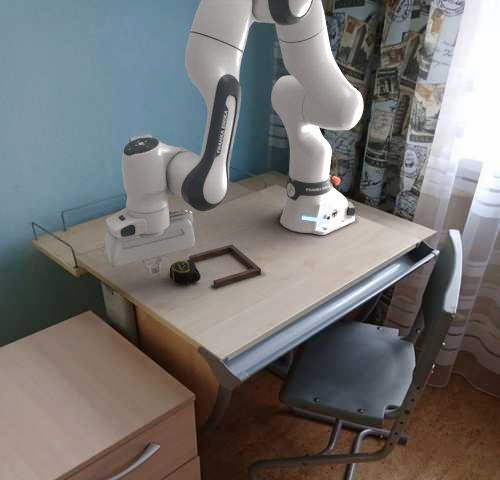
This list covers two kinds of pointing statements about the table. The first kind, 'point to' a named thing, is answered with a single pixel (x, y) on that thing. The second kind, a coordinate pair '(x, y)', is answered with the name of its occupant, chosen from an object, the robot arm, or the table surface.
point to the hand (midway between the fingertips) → (154, 272)
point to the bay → (238, 254)
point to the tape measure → (184, 272)
